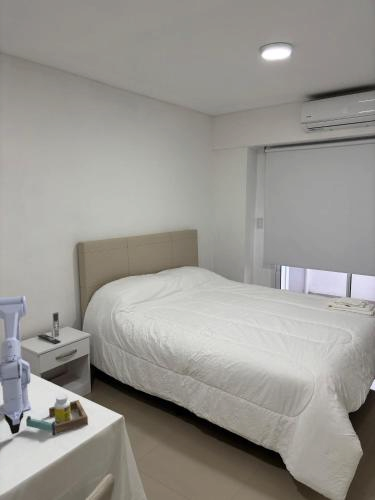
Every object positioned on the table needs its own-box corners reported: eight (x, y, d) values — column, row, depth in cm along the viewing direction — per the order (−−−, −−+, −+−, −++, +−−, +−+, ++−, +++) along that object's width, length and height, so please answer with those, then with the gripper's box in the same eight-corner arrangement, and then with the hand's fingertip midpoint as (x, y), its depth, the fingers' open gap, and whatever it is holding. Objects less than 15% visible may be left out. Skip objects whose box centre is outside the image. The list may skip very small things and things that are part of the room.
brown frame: (45, 416, 140) (45, 406, 140) (78, 407, 147) (78, 397, 146) (52, 435, 130) (52, 424, 129) (88, 424, 136) (87, 414, 135)
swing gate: (53, 429, 131) (52, 420, 130) (50, 431, 130) (50, 422, 129) (28, 424, 134) (28, 415, 133) (26, 426, 133) (25, 417, 132)
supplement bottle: (66, 426, 135) (65, 401, 133) (52, 425, 135) (50, 400, 134) (73, 417, 140) (72, 393, 138) (59, 416, 141) (58, 391, 139)
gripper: (-3, 388, 130) (0, 424, 133) (1, 409, 118) (4, 449, 120) (19, 383, 134) (22, 418, 136) (25, 403, 122) (27, 441, 124)
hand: (15, 432), depth 128 cm, fingers closed
